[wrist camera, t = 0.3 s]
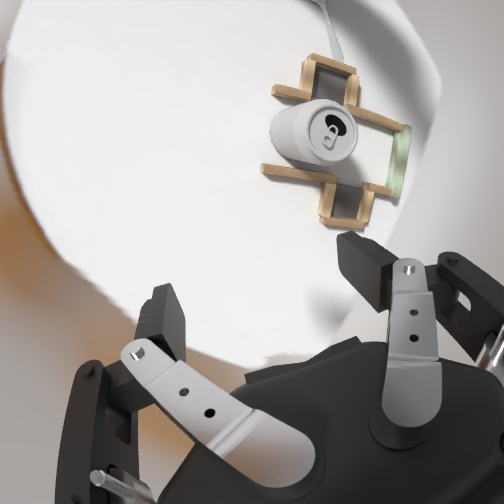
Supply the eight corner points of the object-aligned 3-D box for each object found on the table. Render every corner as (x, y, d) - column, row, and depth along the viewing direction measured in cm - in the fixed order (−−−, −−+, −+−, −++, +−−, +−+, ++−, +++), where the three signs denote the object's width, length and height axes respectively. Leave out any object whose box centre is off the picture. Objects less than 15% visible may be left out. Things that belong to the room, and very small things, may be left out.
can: (327, 129, 36) (375, 129, 25) (299, 169, 38) (339, 182, 27) (287, 97, 33) (325, 82, 22) (257, 138, 35) (284, 137, 24)
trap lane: (278, 49, 30) (284, 42, 27) (403, 94, 35) (414, 93, 33) (253, 214, 39) (258, 220, 36) (380, 228, 44) (390, 234, 42)
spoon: (315, -22, 25) (320, -26, 24) (355, 81, 34) (360, 79, 32) (293, -22, 25) (296, -27, 23) (333, 83, 33) (338, 81, 32)
